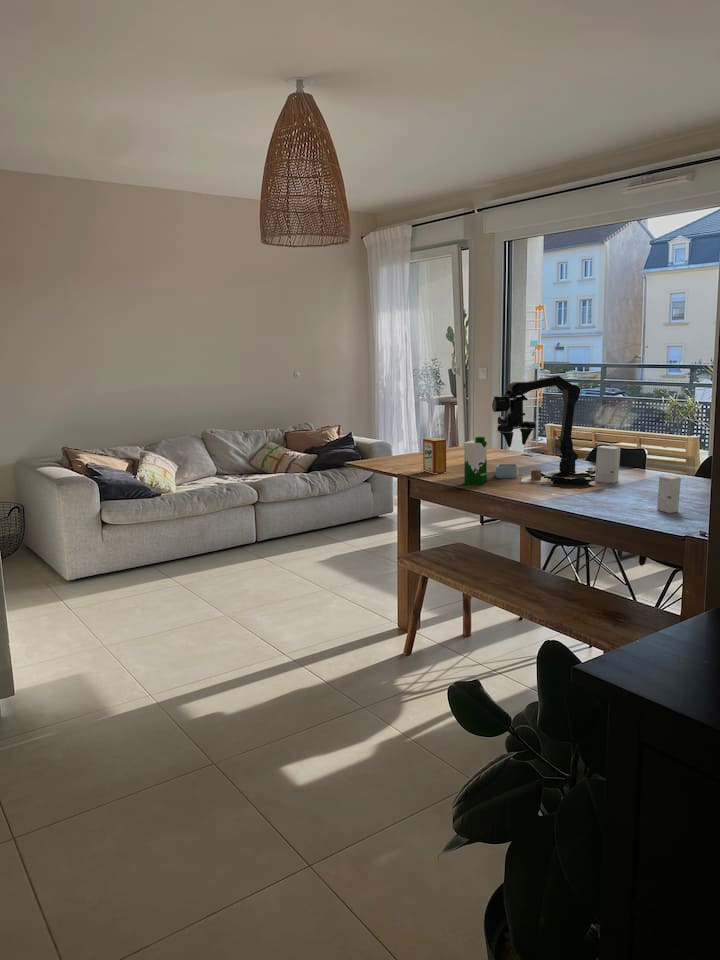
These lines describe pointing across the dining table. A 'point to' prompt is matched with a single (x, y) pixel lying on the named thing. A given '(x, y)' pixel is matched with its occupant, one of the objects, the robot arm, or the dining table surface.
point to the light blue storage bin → (507, 471)
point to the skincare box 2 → (668, 494)
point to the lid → (535, 478)
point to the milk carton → (475, 461)
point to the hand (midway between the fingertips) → (516, 445)
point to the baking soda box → (434, 455)
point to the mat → (525, 483)
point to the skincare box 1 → (607, 464)
